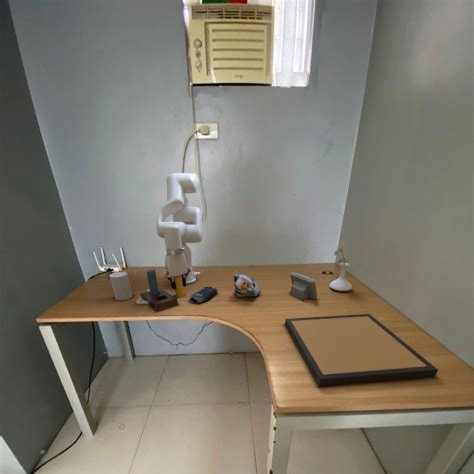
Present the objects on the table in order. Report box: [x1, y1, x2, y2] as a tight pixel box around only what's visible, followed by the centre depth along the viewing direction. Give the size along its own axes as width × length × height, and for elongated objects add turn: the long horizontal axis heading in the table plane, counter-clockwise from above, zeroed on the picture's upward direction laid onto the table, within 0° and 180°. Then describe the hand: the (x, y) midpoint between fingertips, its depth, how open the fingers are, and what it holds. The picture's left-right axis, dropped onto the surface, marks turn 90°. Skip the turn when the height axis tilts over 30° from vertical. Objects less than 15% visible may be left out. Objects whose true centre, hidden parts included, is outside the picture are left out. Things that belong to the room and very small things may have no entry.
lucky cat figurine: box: [233, 272, 262, 298], centre depth 127 cm, size 15×12×14 cm
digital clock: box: [289, 272, 318, 301], centre depth 127 cm, size 16×9×11 cm, turn 20°
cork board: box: [284, 313, 439, 388], centre depth 88 cm, size 36×3×35 cm
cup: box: [109, 271, 133, 301], centre depth 127 cm, size 8×8×12 cm
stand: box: [139, 287, 179, 312], centre depth 123 cm, size 11×18×4 cm, turn 40°
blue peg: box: [145, 268, 159, 296], centre depth 123 cm, size 4×4×15 cm
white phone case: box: [136, 289, 150, 305], centre depth 128 cm, size 7×1×15 cm
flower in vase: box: [329, 242, 353, 292], centre depth 130 cm, size 13×11×25 cm
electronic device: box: [189, 286, 219, 303], centre depth 127 cm, size 9×6×15 cm
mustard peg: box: [174, 276, 185, 298], centre depth 129 cm, size 4×4×10 cm
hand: (179, 287), depth 129 cm, fingers open, 5 cm apart
